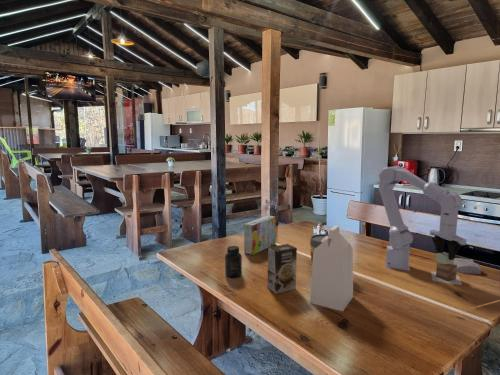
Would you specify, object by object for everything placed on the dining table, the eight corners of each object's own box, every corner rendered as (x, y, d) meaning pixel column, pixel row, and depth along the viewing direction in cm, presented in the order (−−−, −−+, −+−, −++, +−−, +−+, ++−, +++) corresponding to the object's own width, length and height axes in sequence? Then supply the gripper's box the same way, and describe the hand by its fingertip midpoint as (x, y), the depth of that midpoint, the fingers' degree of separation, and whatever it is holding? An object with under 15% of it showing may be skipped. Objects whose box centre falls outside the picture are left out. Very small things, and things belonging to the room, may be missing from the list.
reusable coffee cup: (345, 272, 146) (346, 237, 144) (329, 281, 137) (331, 245, 135) (319, 264, 155) (320, 232, 153) (303, 273, 146) (304, 238, 144)
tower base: (446, 281, 136) (447, 274, 136) (435, 276, 141) (436, 269, 140) (456, 279, 138) (456, 272, 138) (444, 274, 143) (445, 267, 142)
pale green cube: (445, 264, 135) (446, 256, 134) (435, 260, 139) (435, 253, 138) (453, 263, 136) (454, 255, 136) (443, 259, 140) (444, 252, 140)
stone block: (457, 278, 145) (484, 275, 143) (455, 267, 144) (482, 264, 142) (447, 268, 156) (471, 266, 154) (445, 258, 156) (469, 255, 154)
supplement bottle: (244, 273, 145) (244, 246, 143) (237, 280, 139) (236, 251, 137) (230, 271, 148) (229, 244, 146) (222, 277, 142) (221, 248, 140)
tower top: (447, 274, 136) (448, 266, 135) (436, 269, 140) (437, 262, 140) (456, 272, 138) (457, 264, 137) (445, 267, 142) (445, 260, 142)
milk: (342, 311, 114) (345, 234, 111) (309, 302, 121) (311, 229, 117) (353, 297, 125) (356, 226, 121) (322, 289, 131) (324, 221, 127)
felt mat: (432, 281, 137) (432, 280, 137) (430, 272, 146) (430, 271, 146) (462, 286, 133) (462, 284, 133) (458, 276, 142) (458, 275, 142)
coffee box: (275, 294, 127) (276, 251, 124) (267, 287, 132) (267, 246, 130) (296, 289, 131) (297, 247, 128) (287, 282, 137) (287, 243, 134)
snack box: (267, 242, 187) (267, 215, 185) (276, 244, 184) (276, 216, 182) (243, 253, 170) (243, 223, 168) (252, 255, 167) (252, 225, 165)
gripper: (473, 227, 130) (470, 262, 132) (439, 218, 143) (437, 250, 145) (460, 229, 128) (456, 264, 130) (426, 220, 141) (424, 252, 143)
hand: (445, 257), depth 137 cm, fingers closed on pale green cube, 4 cm apart
